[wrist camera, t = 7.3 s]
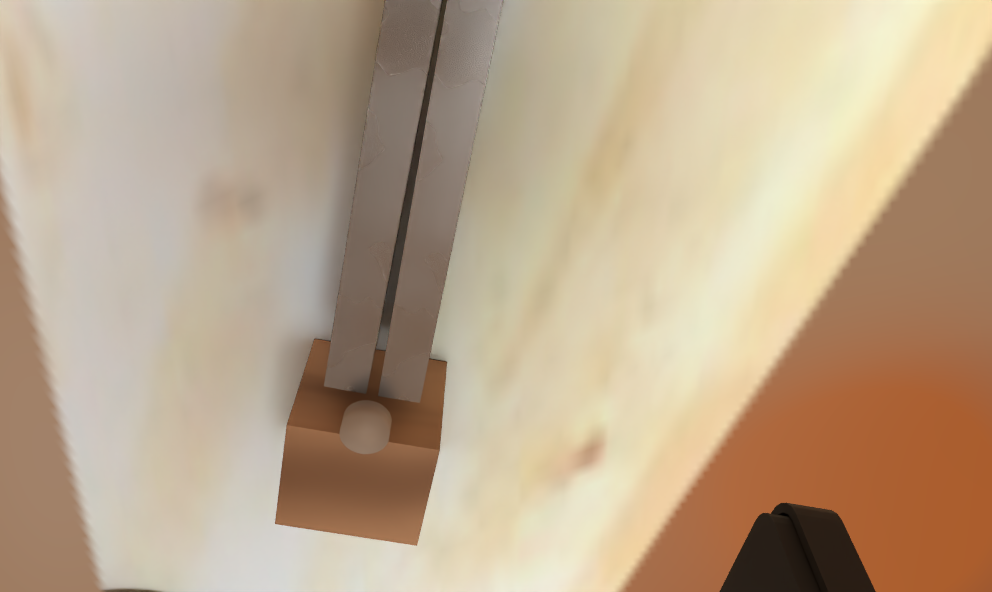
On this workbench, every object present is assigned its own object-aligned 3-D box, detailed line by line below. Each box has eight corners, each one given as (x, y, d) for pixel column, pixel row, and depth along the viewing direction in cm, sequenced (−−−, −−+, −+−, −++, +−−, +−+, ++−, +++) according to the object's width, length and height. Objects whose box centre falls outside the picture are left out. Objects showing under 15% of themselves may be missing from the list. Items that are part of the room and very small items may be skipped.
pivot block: (426, 451, 35) (416, 547, 31) (302, 430, 35) (274, 526, 30) (452, 340, 32) (444, 429, 28) (317, 316, 32) (289, 402, 27)
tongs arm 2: (377, 339, 31) (366, 394, 29) (339, 332, 31) (323, 386, 28) (509, -347, 21) (511, -365, 18) (452, -363, 21) (446, -383, 18)
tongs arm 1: (426, 348, 32) (420, 402, 29) (388, 341, 31) (377, 395, 29) (565, -333, 21) (575, -348, 18) (509, -347, 21) (510, -365, 18)
